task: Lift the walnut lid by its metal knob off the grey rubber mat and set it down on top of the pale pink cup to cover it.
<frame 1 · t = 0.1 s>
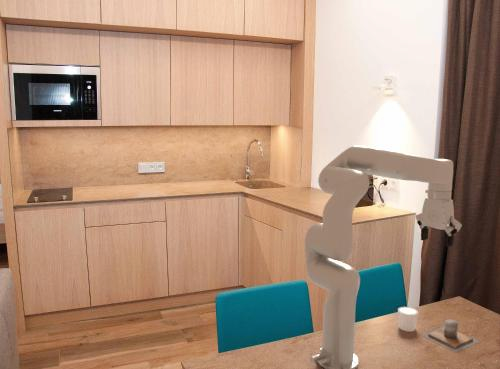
hand: (436, 242, 159), 31 cm above the table, tool pointing down, fingers open, 9 cm apart
lid: (450, 338, 154), resting on mat
mat: (450, 339, 154), on the table
pale pink cup: (406, 329, 162), on the table
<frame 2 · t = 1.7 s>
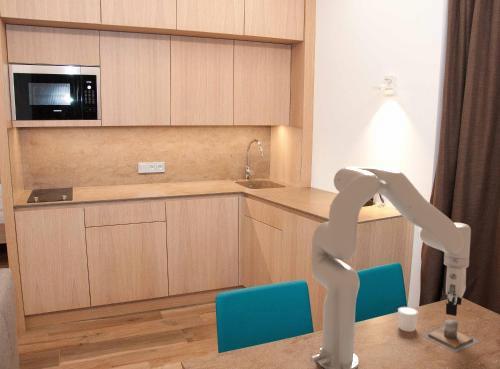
hand: (453, 309, 153), 11 cm above the table, tool pointing down, fingers open, 9 cm apart
nothing on the table moved.
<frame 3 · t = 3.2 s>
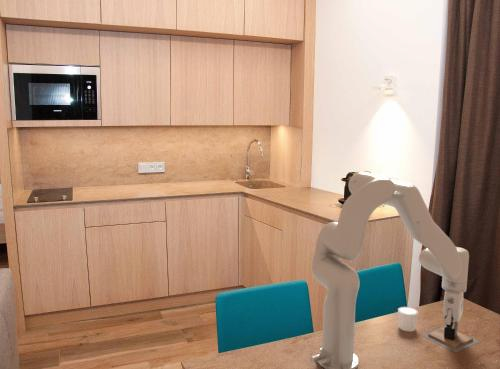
hand: (450, 335, 154), 2 cm above the table, tool pointing down, fingers closed on lid, 4 cm apart
lid: (450, 338, 154), resting on mat, touching gripper
everything else where it was.
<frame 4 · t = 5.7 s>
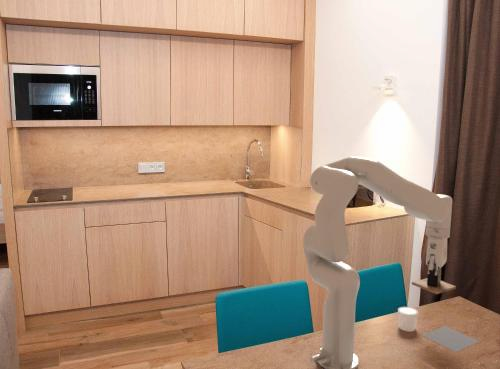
hand: (433, 283, 155), 19 cm above the table, tool pointing down, fingers closed on lid, 4 cm apart
lid: (433, 286, 155), point 18 cm above the table, touching gripper
everything else where it was.
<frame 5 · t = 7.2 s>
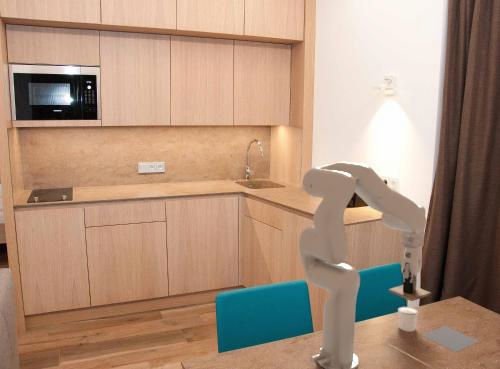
hand: (409, 290, 160), 15 cm above the table, tool pointing down, fingers closed on lid, 4 cm apart
lid: (409, 293, 160), point 13 cm above the table, touching gripper
everything else where it was.
when the fingers open (9 cm above the table, at t = 8.4 s): lid drops 1 cm, resting on pale pink cup.
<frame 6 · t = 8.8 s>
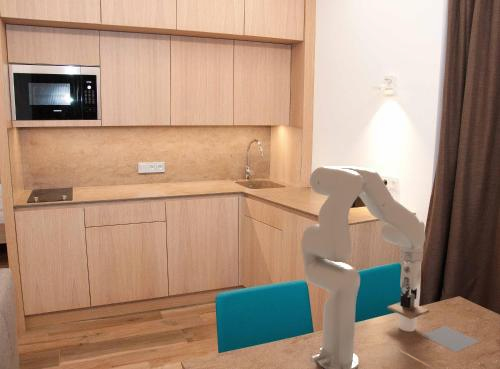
hand: (408, 302, 161), 10 cm above the table, tool pointing down, fingers open, 8 cm apart
lid: (408, 310, 161), point 7 cm above the table, touching pale pink cup
pale pink cup: (406, 329, 162), on the table, touching lid
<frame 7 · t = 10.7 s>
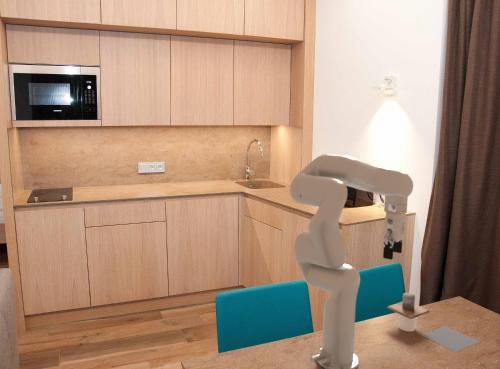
hand: (392, 255, 160), 27 cm above the table, tool pointing down, fingers open, 9 cm apart
nothing on the table moved.
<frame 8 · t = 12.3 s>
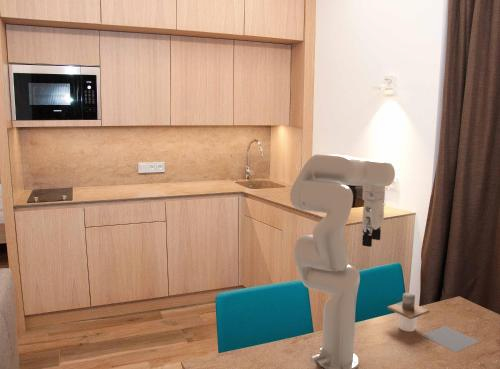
hand: (371, 242, 162), 30 cm above the table, tool pointing down, fingers open, 9 cm apart
nothing on the table moved.
at the end: lid 0.0 cm off-centre on the pale pink cup, point 7.2 cm above the pale pink cup's base; lid tilted 0°; pale pink cup tilted 0° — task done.
